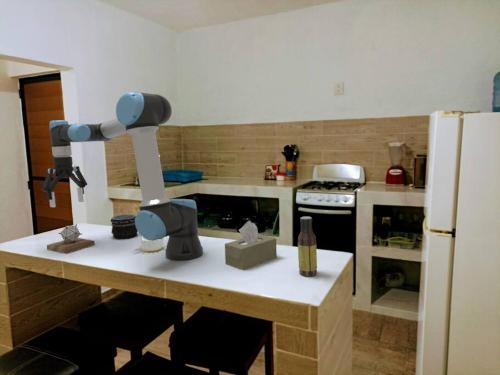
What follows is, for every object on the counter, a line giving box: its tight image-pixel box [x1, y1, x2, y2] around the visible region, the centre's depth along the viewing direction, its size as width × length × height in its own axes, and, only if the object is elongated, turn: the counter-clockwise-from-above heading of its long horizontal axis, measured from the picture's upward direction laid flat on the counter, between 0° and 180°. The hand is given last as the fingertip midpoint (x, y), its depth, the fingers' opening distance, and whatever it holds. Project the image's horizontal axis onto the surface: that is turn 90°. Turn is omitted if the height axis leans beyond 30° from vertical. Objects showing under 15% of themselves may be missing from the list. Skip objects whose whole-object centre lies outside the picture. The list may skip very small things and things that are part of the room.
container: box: [110, 213, 139, 240], centre depth 185 cm, size 13×13×10 cm
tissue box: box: [224, 220, 278, 271], centre depth 143 cm, size 19×10×16 cm, turn 133°
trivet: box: [46, 237, 96, 254], centre depth 169 cm, size 14×14×2 cm
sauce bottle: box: [297, 215, 318, 278], centre depth 128 cm, size 6×6×20 cm
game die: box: [57, 224, 83, 243], centre depth 168 cm, size 9×8×10 cm
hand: (67, 204), depth 166 cm, fingers open, 13 cm apart
